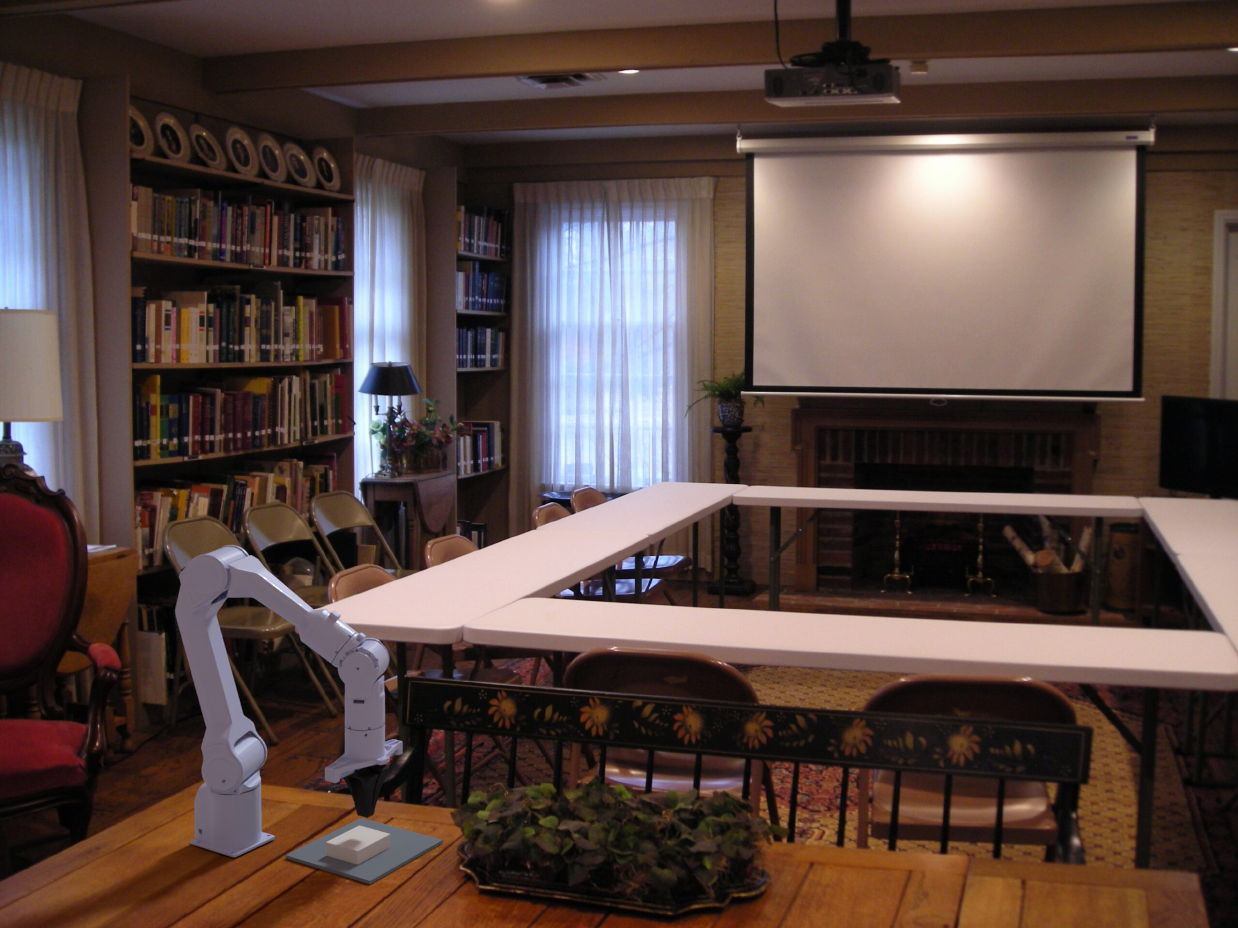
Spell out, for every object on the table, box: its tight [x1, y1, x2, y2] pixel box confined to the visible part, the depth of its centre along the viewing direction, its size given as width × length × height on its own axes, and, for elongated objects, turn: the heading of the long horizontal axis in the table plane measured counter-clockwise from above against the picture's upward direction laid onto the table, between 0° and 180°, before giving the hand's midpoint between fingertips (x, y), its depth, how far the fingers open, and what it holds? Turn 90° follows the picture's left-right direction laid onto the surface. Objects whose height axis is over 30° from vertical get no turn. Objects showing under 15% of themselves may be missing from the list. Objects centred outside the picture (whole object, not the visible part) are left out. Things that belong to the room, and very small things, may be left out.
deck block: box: [326, 825, 390, 865], centre depth 169 cm, size 6×2×7 cm
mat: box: [285, 817, 444, 885], centre depth 171 cm, size 16×16×1 cm
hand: (365, 814), depth 170 cm, fingers closed
